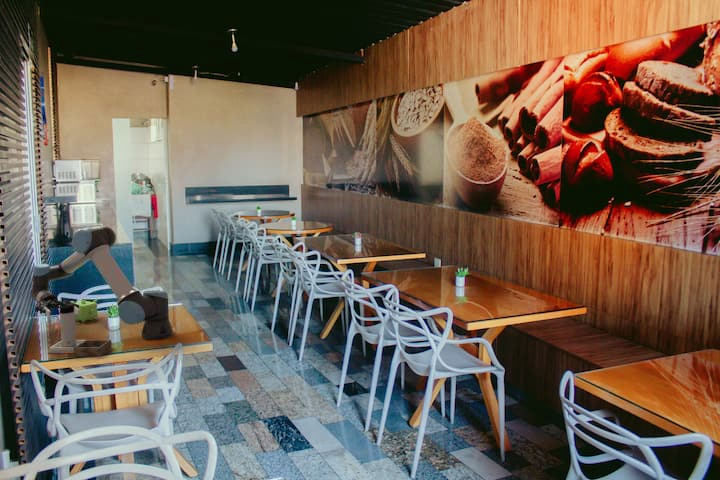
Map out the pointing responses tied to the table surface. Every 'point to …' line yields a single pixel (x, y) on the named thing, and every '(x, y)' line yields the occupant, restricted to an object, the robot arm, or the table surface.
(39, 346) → the table surface
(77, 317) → the green rounded cube block
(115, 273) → the robot arm
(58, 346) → the tray
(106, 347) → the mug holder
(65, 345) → the travel mug
